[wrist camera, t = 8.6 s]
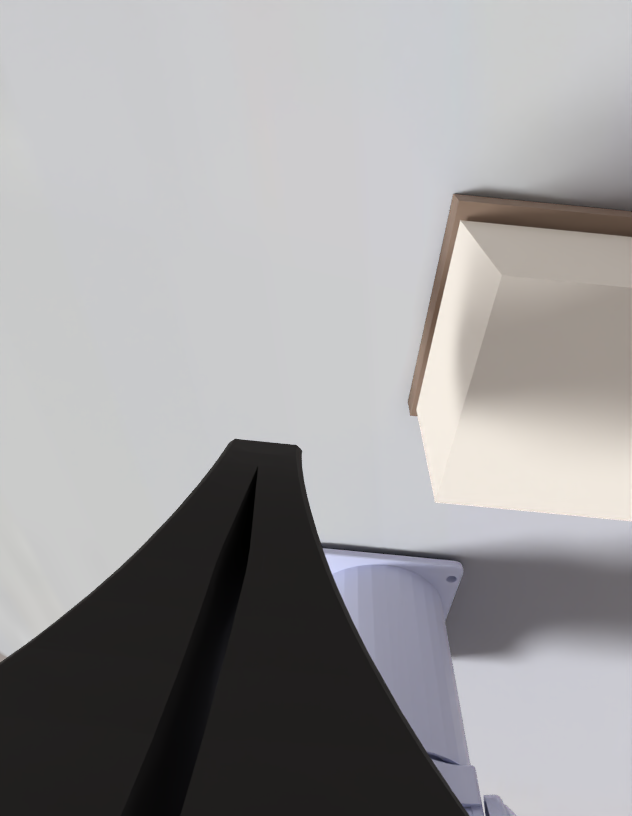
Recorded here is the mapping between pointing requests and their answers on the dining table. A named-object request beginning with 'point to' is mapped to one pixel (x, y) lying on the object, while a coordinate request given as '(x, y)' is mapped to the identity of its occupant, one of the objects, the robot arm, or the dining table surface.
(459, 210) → the rack
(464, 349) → the bookend
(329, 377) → the dining table surface
